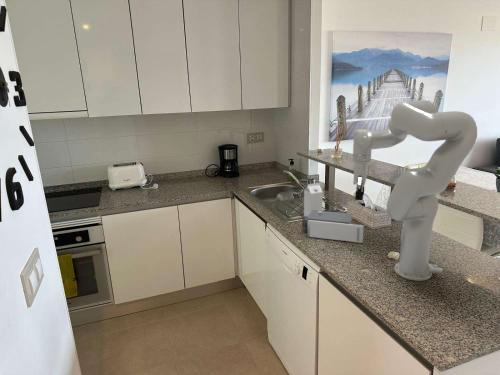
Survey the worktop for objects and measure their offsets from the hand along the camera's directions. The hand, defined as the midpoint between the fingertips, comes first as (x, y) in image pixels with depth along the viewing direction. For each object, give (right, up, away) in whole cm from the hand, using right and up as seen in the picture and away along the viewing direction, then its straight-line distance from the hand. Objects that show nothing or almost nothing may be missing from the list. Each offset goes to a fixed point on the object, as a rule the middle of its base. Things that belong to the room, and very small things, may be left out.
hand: (359, 196), depth 153 cm
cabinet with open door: (-12, -18, +11) cm, 25 cm away
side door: (-11, -19, +3) cm, 22 cm away
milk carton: (-15, -12, +32) cm, 37 cm away
